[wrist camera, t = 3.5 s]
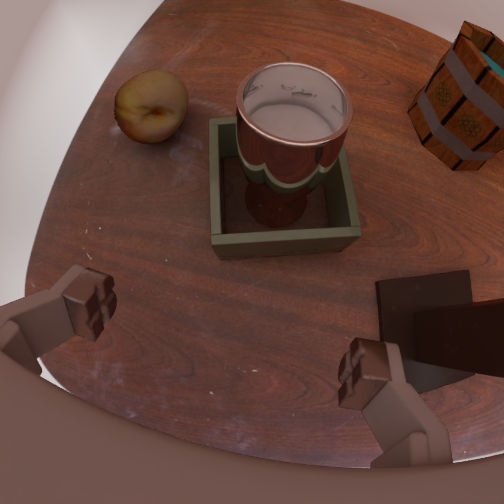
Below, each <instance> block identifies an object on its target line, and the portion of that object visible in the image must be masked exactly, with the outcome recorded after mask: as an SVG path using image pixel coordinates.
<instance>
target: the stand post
mask: <svg viewBox="0 0 504 504" xmlns="http://www.w3.org/2000/svg"><path fill="white" fill-rule="evenodd" d="M375 284H376V293H377V303H378V315H379V328H380V341H381V342H388V343H394V344H397V345H398V346H399V350H400V354H401V359H402V364H403V369H404V373H405V379H406V383H410V384H411V385H412V386H413V388H414V389H415V390H416V391H417V393H418V394H420V393H423V392H427V391H430V390H433V389H436V388H439V387H442V386H445V385H448V384H451V383H454V382H457V381H460V380H462V379H465V378H468V377H470V376H473V375H475V373H477V374H483V375H490V376H496V377H503V378H504V298H500V299H494V300H488V301H481V302H474V303H473V300H472V290H471V282H470V274H469V270H462V271H455V272H448V273H440V274H432V275H425V276H417V277H408V278H400V279H391V280H382V281H377V282H375Z"/></svg>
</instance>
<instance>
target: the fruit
mask: <svg viewBox="0 0 504 504" xmlns="http://www.w3.org/2000/svg"><path fill="white" fill-rule="evenodd" d="M187 108H188V93H187V90H186V87H185V85H184V84H183V82H182V81H181V80H180V79H179V78H178V77H176V76H175V75H173V74H172V73H170V72H167V71H164V70H151V71H147V72H144V73H141V74H139V75H137V76H135V77H133V78H131V79H130V80H128V81H127V82H126V83H124V84H123V85H122V87H121V88H120V89H119V90H118V92H117V94H116V96H115V109H114V112H115V113H114V115H115V119H116V120H117V122H118V126H119V127H120V128H121V131H123V132H124V133H125V134H126V135H127V136H128V137H129V138H130V139H132V140H133V141H136V142H139V143H143V144H152V143H158V142H161V141H163V140H165V139H166V138H168V137H169V136H171V135H172V134H173V133H174V132H175V131H176V130H177V129H178V127H179V126H180V125H181V123H182V122H183V120H184V118H185V116H186V113H187Z"/></svg>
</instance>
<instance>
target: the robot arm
mask: <svg viewBox="0 0 504 504" xmlns="http://www.w3.org/2000/svg"><path fill="white" fill-rule="evenodd" d="M114 285H115V284H114V279H113V277H112V276H110V275H108V274H105V273H102V272H99V271H96V270H94V269H91V268H87V267H85V266H82V265H79V264H75V265H73V266H72V267H71V268H70V269H69V270H68V271H67V272H66V273H65V274H64V275H63V276H62V277H61V278H60V279H59V280H58V281H57V282H56V283H55V284H54V286H53V287H52V288H51V289H50V290H48V289H45V290H42V291H39V292H37V293H34V294H31V295H29V296H26V297H23V298H21V299H18V300H16V301H13V302H10V303H8V304H6V305H3V306H0V504H504V453H503V454H499V455H494V456H490V457H485V458H480V459H475V460H469V461H463V462H456V463H453V460H452V453H451V446H450V440H449V434H448V430H447V429H446V427H445V426H444V425H443V423H442V422H441V421H440V420H439V418H438V417H437V416H436V415H435V413H434V412H433V411H432V410H431V409H430V407H429V406H428V405H427V404H426V402H425V401H424V400H423V399H422V397H421V396H420V395H419V394H418V393H417V391H416V390H415V389H414V388H413V386H412V385H411V384H410V383H406V379H405V373H404V369H403V364H402V359H401V354H400V350H399V346H398V345H397V344H394V343H388V342H381V341H375V340H369V339H363V338H357V337H356V338H355V339H353V341H352V343H351V344H350V350H351V351H349V352H347V353H345V354H344V356H343V358H342V359H341V362H340V366H339V371H338V380H339V381H340V383H341V384H342V386H341V388H340V389H339V390H338V402H339V407H340V408H347V409H354V410H362V411H361V412H362V414H363V416H364V418H365V419H366V421H367V423H368V425H369V427H370V428H371V430H372V432H373V434H374V436H375V437H376V439H377V441H378V443H379V445H380V447H381V448H382V450H383V452H384V453H383V454H382V455H380V456H379V457H378V458H376V459H375V460H373V461H372V462H371V466H370V468H343V467H328V466H316V465H306V464H298V463H290V462H283V461H276V460H270V459H264V458H259V457H253V456H248V455H243V454H239V453H234V452H230V451H225V450H221V449H217V448H213V447H209V446H206V445H202V444H198V443H195V442H191V441H188V440H185V439H181V438H178V437H175V436H172V435H169V434H166V433H163V432H160V431H157V430H154V429H151V428H149V427H146V426H143V425H141V424H138V423H135V422H133V421H130V420H128V419H125V418H123V417H121V416H118V415H116V414H113V413H111V412H109V411H107V410H104V409H102V408H100V407H98V406H96V405H94V404H91V403H89V402H87V401H85V400H83V399H81V398H79V397H77V396H75V395H73V394H71V393H69V392H67V391H66V390H64V389H62V388H60V387H58V386H56V385H54V384H53V383H51V382H49V381H47V380H46V379H44V378H42V377H41V376H40V375H41V373H42V368H41V366H40V364H39V363H38V361H37V358H38V357H40V356H42V355H43V354H45V353H47V352H48V351H50V350H52V349H53V348H55V347H57V346H59V345H60V344H62V343H64V342H65V341H67V340H69V339H71V338H72V337H74V336H75V334H76V335H79V336H81V337H83V338H86V339H88V340H91V341H94V342H95V341H96V340H97V338H98V337H99V335H100V334H101V332H102V331H103V330H104V325H103V323H105V322H107V321H109V320H110V319H111V318H112V316H113V315H114V312H115V309H116V306H117V298H116V294H115V293H114V291H113V290H112V288H113V287H114Z"/></svg>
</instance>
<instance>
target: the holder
mask: <svg viewBox="0 0 504 504" xmlns="http://www.w3.org/2000/svg"><path fill="white" fill-rule="evenodd" d="M235 121H236V116H234V117H221V118H210V119H209V177H210V220H211V245H212V247H213V249H214V251H215V253H216V254H217V256H218V258H219V260H232V259H247V258H262V257H277V256H291V255H306V254H320V253H335V252H342V251H343V250H344V249H345V248H347V247H348V246H349V245H351V244H352V243H353V242H354V241H356V240H357V239H358V238H359V237H361V236H362V233H361V227H360V220H359V215H358V209H357V203H356V198H355V193H354V187H353V182H352V178H351V173H350V168H349V163H348V159H347V155H346V150H345V146H344V143H343V145H342V148H341V151H340V153H339V155H338V157H337V160H336V162H335V163H334V165H333V167H332V169H331V170H330V172H329V173H328V175H327V176H326V177H325V178H324V180H323V184H324V190H325V196H326V202H327V209H328V215H329V222H330V228H315V229H297V230H280V231H264V232H248V233H233V234H227V233H226V211H225V187H224V160H223V157H235V156H238V154H237V147H236V138H235Z"/></svg>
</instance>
